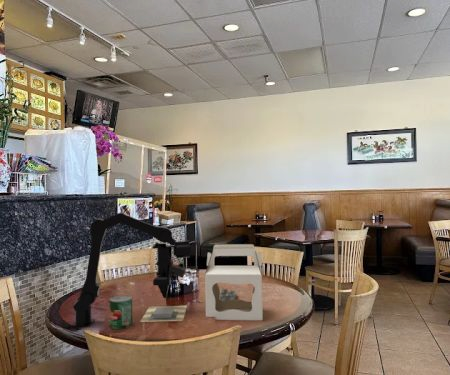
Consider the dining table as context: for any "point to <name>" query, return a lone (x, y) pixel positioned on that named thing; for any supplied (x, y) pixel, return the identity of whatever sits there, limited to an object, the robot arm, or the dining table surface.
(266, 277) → the dining table surface
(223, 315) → the gable box
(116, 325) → the canned tomato
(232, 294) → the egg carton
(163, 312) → the tile
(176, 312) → the board
